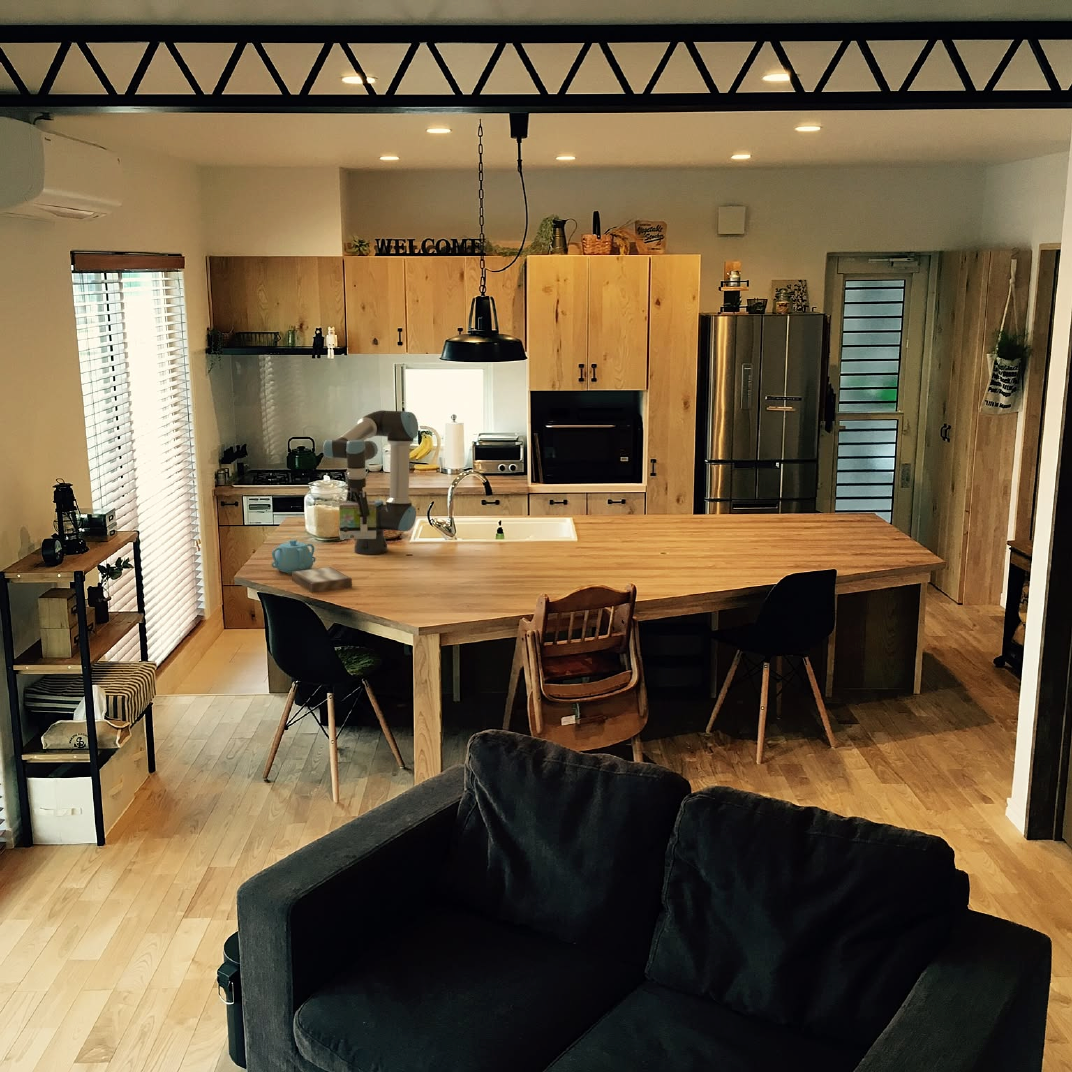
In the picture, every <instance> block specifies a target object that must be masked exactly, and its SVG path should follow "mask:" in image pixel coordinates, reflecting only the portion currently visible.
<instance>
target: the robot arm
mask: <svg viewBox="0 0 1072 1072" xmlns="http://www.w3.org/2000/svg"><path fill="white" fill-rule="evenodd" d="M418 434H419V423H418V418H417V417H416V415H415V414H414V413H413V412H411V411H407V410H406V411H405V410H402V411H401V410H384V409H381V410H376V411H374V412H371V413H368V414H366V415H364V416H362V417H361V418H360V419H359V420H358V421H357V424H355V425H354V426H352V427H351V428H350V429H348V430H347V431H346V432H344V433H343V434H342V435H341V436H339V437H338V438H336V439H326V440H325V441H324V443H323V445H322V446H323V447H322V452H323V456H324V457H326V458H330V459H341V460H343V459H344V460H346V467H347V468H346V469H347V470H346V472H345V473H347V474H346V475H347V484H346V485H347V488H346V489H347V492H346V499H345V501H356V502H357V503H358V505H359V510H360V513H361V515H360V529H361V532H367V516H369V515H370V513H369V508H368V502H367V501H368V497H367V492H366V491H363V489H364V488H366V487H367V479H366V477H367V473H366V472H367V471H366V461H368V460H372V459H373V458H375V457H376V456H377V455H378V451H379V448H378V446H377V443H375V442H374V441H372V440H367V439H371V438H373V437H386V438H387V442H388V443H389V444H390V452H389V453H390V457H389V458H390V461H389V464H390V465H389V466H390V467H389V497H388V498H387V500H386V501H385V504H384V501H383V500H380V499H376V500H373V501H375V504H376V539H355V544H354V546H353V549H354V553H356V554H359V555H380V554H381V555H382V554H384V553H385V554H386V552H388V544H387V540H386V539H385V536H384V531H395V532H409V531H411V530H412V528H413V527H414V525H415V523H416V519H417V509H416V506H413V505H412V504H413V502H412V500H411V499H410V498H409V497H410V496H409V494H410V459H411V458H410V452H411V451H410V450H411V445H412V444H413V443H414V439H416V438H417V437H418Z"/></svg>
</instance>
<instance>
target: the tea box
mask: <svg viewBox="0 0 1072 1072" xmlns="http://www.w3.org/2000/svg"><path fill="white" fill-rule="evenodd" d="M367 502H368V508H369V513H370V515H369V516H367V532H361V529H360V515H361V513H360V510H359V505H358V503H357V502H356V501H346V500H339V501H338V527H339V528H338V529H339V530H338V534H339V538H340V540H356V539H376V504H375V501H374V500H367Z"/></svg>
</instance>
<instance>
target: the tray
mask: <svg viewBox="0 0 1072 1072" xmlns="http://www.w3.org/2000/svg"><path fill="white" fill-rule="evenodd" d="M291 581H292V582H293V583H295V584H297V585H299V586H300V587H302V588H303V587H304V588H303V589H305V590H306V589H307V590H306V591H308V590H309V591H308V592H310V593H311V592H312V594H315V592H316V593H321V592H329V591H335V590H336V591H338V590H343V589H351V588H353V582H352V581H353V578H352V577H350V576H348V575H346V574H345V573H342V572H341V571H339V570H337V569H335V568H333V567H331V566H328V567H319V568H313V569H312V568H311V569H310V570H302V571H294V572H292V574H291ZM313 592H314V593H313Z"/></svg>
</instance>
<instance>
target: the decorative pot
mask: <svg viewBox="0 0 1072 1072" xmlns="http://www.w3.org/2000/svg"><path fill="white" fill-rule="evenodd" d="M309 547H311V549H310V548H309ZM314 554H315V546H314V545H313V544H312V543H304V542H301V541H297V539H289V540H288V542H284V543H280V544H279V545H278V547H275V548H274V549H272V551H271V557H272V560H273V561H272V562H271V564H270V566H271V567H272V568H274V569H277V570H278V571H279V572H282V573H286V575H292V572H294V571H302V570H310V569H312V567H313V566H314V563H315V562H316V557H315V556H314Z"/></svg>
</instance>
